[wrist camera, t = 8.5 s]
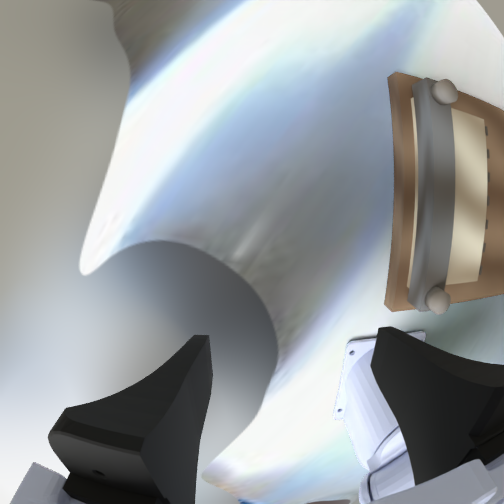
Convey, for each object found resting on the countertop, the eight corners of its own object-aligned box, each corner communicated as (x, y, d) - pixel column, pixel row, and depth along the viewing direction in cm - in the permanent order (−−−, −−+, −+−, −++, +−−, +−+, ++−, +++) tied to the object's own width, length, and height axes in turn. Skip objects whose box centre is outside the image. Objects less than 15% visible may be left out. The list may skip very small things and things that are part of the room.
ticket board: (517, 284, 21) (545, 299, 16) (384, 304, 21) (413, 334, 16) (525, 128, 17) (556, 126, 12) (387, 77, 16) (420, 55, 12)
